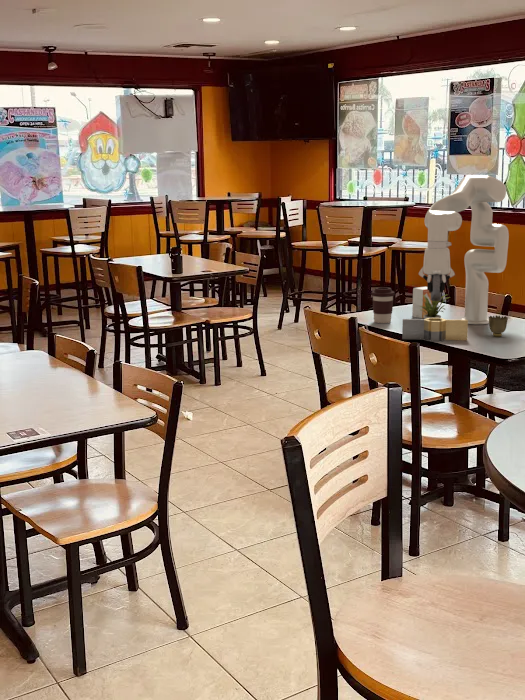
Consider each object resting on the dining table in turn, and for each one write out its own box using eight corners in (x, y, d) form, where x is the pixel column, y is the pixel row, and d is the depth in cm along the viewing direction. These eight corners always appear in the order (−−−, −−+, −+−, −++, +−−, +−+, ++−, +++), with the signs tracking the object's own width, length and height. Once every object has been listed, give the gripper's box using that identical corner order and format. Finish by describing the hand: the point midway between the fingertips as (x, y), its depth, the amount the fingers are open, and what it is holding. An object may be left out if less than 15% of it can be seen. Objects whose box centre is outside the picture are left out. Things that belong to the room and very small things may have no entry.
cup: (507, 338, 343) (508, 318, 341) (488, 338, 344) (489, 318, 342) (506, 334, 350) (507, 315, 348) (487, 334, 351) (488, 315, 350)
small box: (422, 318, 387) (423, 289, 384) (411, 316, 392) (412, 288, 389) (434, 316, 392) (435, 287, 389) (424, 314, 397) (425, 286, 394)
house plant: (457, 329, 362) (459, 290, 358) (445, 335, 351) (446, 295, 347) (425, 326, 370) (426, 288, 366) (412, 331, 358) (413, 292, 355)
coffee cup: (369, 323, 377) (369, 289, 373) (373, 319, 386) (373, 286, 383) (392, 324, 374) (392, 290, 371) (395, 320, 383) (396, 286, 380)
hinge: (402, 336, 349) (402, 317, 347) (466, 338, 345) (467, 318, 343) (402, 341, 341) (402, 321, 339) (467, 342, 337) (468, 322, 336)
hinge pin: (428, 299, 342) (429, 268, 340) (442, 299, 342) (443, 268, 339) (429, 301, 337) (430, 270, 335) (442, 301, 337) (443, 270, 334)
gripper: (458, 244, 337) (457, 291, 341) (415, 244, 340) (414, 290, 344) (460, 246, 330) (458, 294, 334) (415, 246, 332) (414, 293, 337)
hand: (436, 291), depth 339 cm, fingers closed on hinge pin, 4 cm apart
